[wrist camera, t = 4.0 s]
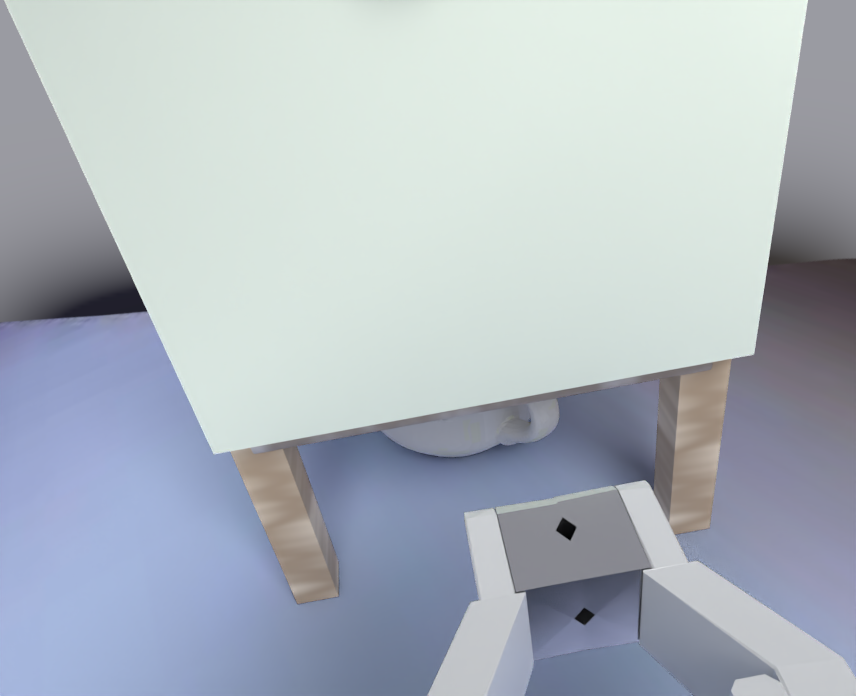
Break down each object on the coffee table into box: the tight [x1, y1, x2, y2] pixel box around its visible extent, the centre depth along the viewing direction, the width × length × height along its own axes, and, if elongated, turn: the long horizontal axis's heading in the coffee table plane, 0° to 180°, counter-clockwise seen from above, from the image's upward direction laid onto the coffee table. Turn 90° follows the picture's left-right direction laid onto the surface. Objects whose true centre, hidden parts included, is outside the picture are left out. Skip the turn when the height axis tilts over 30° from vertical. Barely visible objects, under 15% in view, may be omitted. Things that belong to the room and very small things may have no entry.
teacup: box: [382, 398, 559, 457], centre depth 39 cm, size 14×11×8 cm
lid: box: [4, 0, 808, 454], centre depth 20 cm, size 20×19×3 cm
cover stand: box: [230, 359, 731, 604], centre depth 38 cm, size 20×20×11 cm
